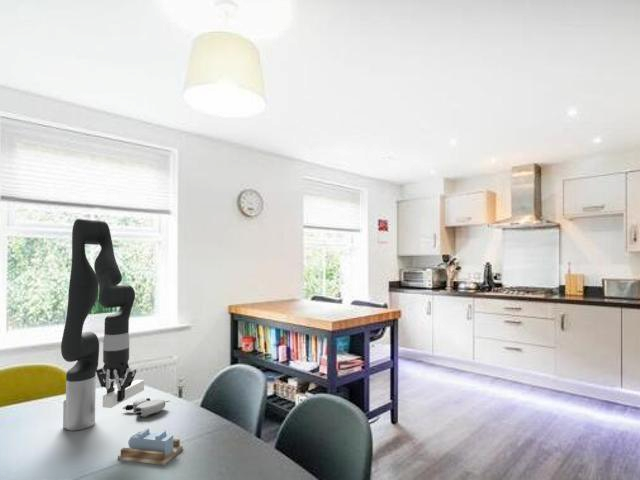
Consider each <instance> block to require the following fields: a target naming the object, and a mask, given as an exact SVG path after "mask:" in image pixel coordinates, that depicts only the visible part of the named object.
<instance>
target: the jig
mask: <svg viewBox="0 0 640 480" xmlns="http://www.w3.org/2000/svg"><path fill="white" fill-rule="evenodd" d="M180 443H181V439H180V438H173V450H172V451H171V452H170V453H169V454H167V455H166V456H164V452H159V451H150V450H140V449H131V448H130V447H122V448H121V449H120V454H118V455H117V460H120V461H128V462H135V463H136V462H137V463H144V464H145V463H146V464H154V465H159V466H160V465H161V466H166V465H167V463H169V462H170V461H171V460H172V459H174V457H175V456H176V455H178V454H179V453H181V451H182V450H183V447H184V446H183V445H181V444H180Z"/></svg>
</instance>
